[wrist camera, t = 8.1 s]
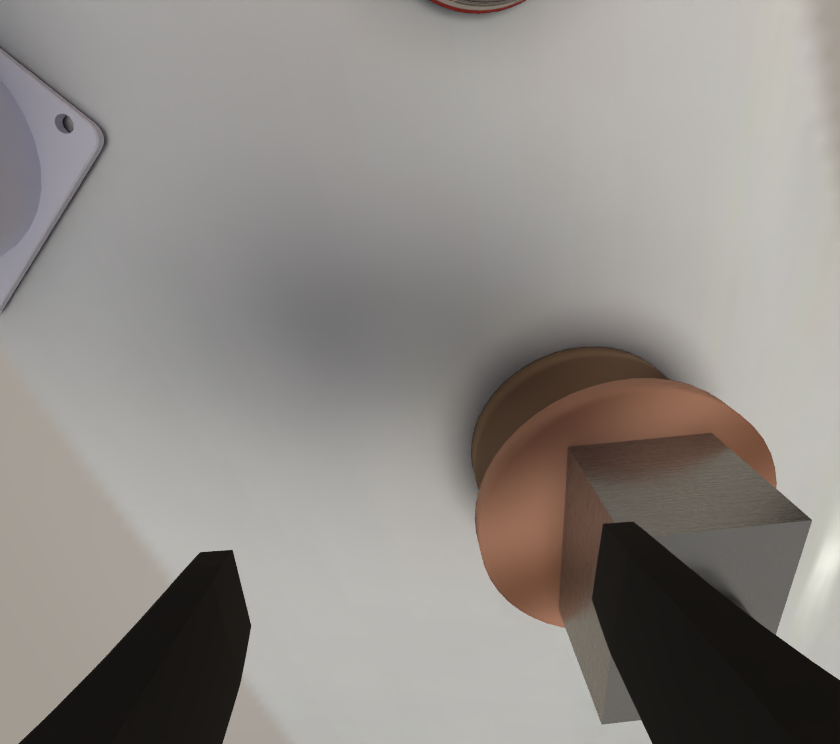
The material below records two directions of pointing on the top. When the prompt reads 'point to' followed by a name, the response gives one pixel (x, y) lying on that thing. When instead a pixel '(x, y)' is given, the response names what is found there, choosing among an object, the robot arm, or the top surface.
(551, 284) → the top surface
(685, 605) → the robot arm
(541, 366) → the stand
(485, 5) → the beverage can
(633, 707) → the block
